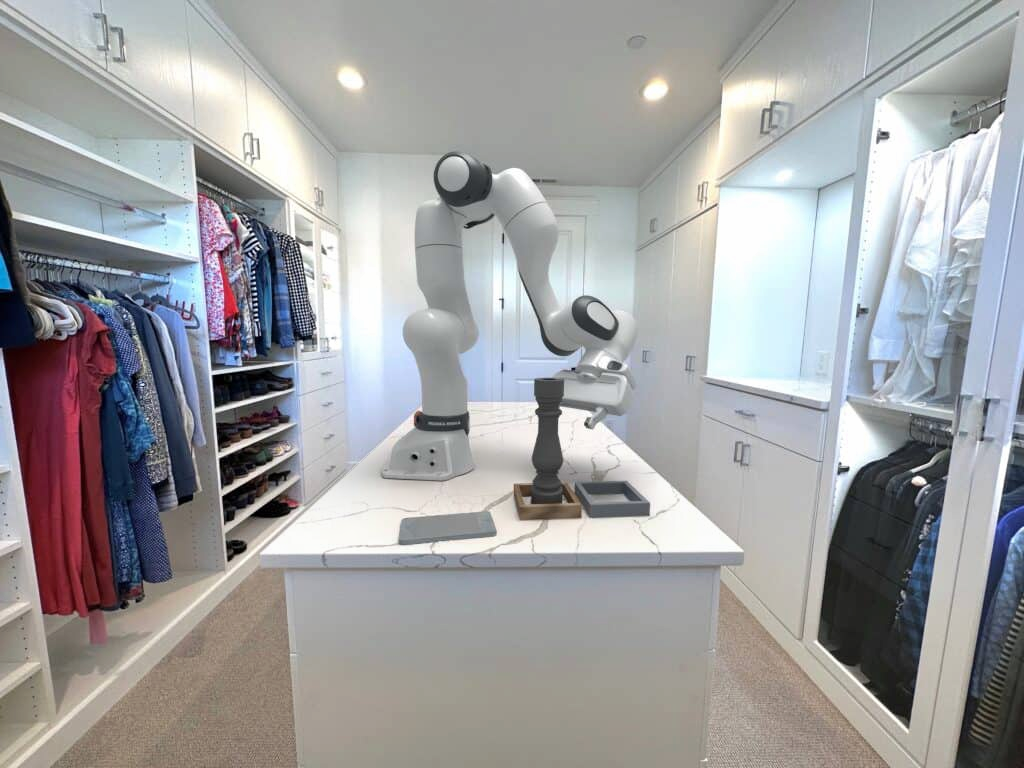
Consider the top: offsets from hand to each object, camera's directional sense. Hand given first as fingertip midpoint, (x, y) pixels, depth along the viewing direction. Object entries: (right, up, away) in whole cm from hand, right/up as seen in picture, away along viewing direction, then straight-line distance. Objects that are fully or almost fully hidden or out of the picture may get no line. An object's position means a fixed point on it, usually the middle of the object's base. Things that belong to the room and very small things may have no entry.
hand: (568, 423), depth 80 cm
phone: (-23, -18, -12) cm, 31 cm away
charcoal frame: (+8, -16, -2) cm, 18 cm away
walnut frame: (-5, -16, -3) cm, 17 cm away
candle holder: (-5, -16, -3) cm, 17 cm away
